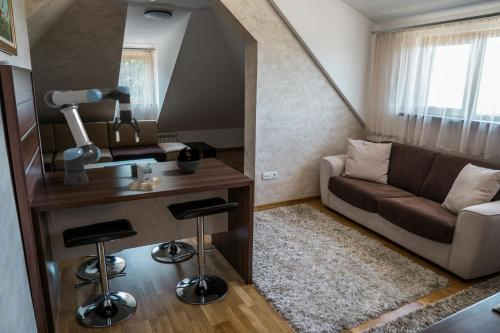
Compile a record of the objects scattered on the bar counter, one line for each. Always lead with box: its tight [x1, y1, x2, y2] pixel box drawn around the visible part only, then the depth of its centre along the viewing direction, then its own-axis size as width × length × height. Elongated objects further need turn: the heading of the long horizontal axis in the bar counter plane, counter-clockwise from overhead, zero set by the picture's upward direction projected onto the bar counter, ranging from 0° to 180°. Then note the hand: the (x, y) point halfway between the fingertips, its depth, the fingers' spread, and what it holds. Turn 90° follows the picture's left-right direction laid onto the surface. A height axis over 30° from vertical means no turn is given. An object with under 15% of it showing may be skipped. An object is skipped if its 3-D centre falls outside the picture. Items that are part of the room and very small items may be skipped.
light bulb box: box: [136, 162, 154, 183], centre depth 226 cm, size 11×7×11 cm, turn 40°
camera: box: [130, 162, 152, 178], centre depth 248 cm, size 14×11×10 cm
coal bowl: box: [175, 146, 203, 173], centre depth 264 cm, size 20×20×19 cm
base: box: [127, 176, 163, 192], centre depth 228 cm, size 16×18×4 cm
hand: (127, 141), depth 230 cm, fingers open, 13 cm apart
